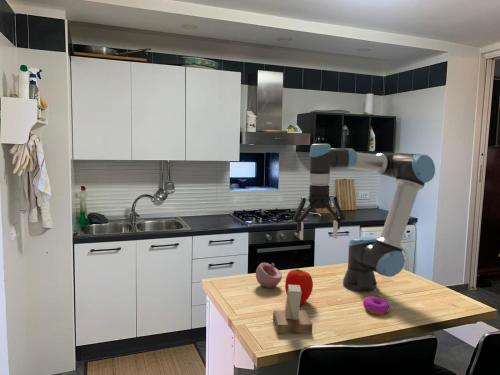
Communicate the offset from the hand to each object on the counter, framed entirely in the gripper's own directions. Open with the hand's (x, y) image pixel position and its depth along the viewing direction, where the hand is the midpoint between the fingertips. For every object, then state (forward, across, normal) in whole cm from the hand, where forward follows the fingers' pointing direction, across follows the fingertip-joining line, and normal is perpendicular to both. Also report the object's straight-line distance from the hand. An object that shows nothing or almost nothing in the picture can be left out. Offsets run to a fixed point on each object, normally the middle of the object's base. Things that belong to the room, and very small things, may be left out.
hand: (318, 238), depth 149 cm
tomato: (+29, +6, -6) cm, 30 cm away
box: (+24, +14, +14) cm, 31 cm away
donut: (+30, -23, +3) cm, 38 cm away
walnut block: (+29, +14, +14) cm, 35 cm away
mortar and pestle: (+29, +16, -24) cm, 40 cm away
